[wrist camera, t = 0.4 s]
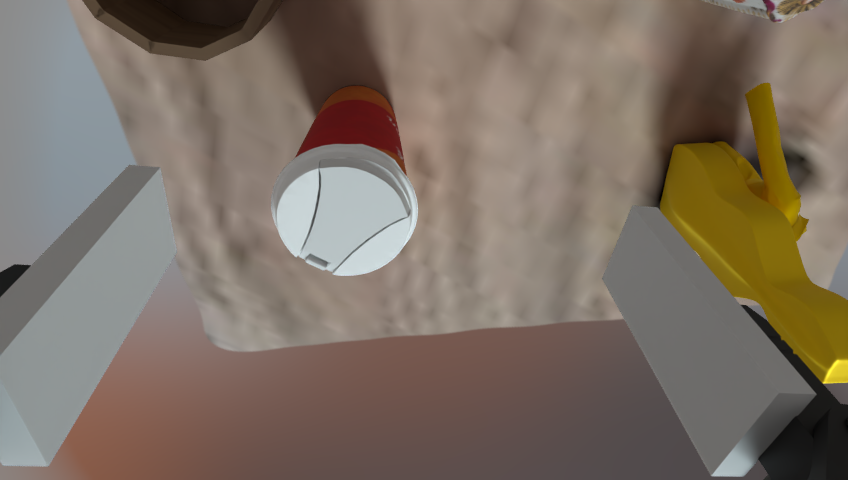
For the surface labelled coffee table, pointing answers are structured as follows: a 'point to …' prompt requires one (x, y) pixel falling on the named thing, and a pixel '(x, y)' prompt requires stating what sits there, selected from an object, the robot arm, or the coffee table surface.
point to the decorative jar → (769, 7)
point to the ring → (177, 27)
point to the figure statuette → (757, 237)
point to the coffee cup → (347, 187)
